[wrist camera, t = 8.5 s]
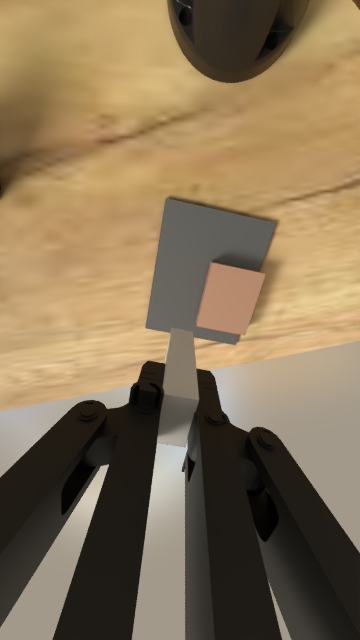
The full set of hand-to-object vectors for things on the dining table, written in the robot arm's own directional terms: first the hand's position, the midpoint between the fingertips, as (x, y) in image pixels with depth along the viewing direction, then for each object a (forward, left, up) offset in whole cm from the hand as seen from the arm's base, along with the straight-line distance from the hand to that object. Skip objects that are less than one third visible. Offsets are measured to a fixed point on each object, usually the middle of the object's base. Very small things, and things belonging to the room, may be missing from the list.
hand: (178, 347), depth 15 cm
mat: (-2, +4, -21) cm, 22 cm away
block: (0, +4, -19) cm, 20 cm away
